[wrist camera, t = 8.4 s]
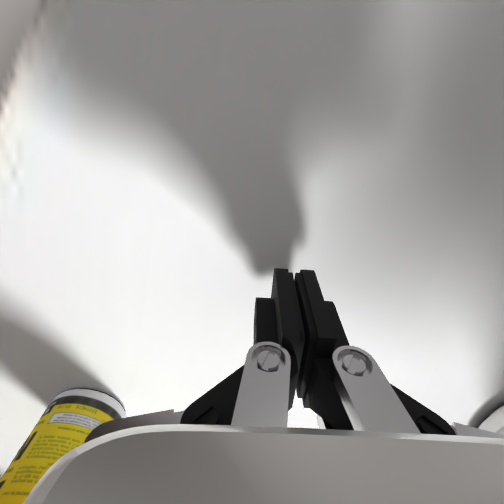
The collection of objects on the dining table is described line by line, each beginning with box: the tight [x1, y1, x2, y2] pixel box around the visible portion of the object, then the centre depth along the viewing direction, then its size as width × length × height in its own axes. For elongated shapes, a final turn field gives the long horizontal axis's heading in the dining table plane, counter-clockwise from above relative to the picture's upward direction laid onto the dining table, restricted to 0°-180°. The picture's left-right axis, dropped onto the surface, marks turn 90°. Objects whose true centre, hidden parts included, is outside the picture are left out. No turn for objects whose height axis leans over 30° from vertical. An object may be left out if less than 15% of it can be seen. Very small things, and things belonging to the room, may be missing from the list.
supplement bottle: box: [0, 389, 126, 504], centre depth 15 cm, size 5×5×8 cm
